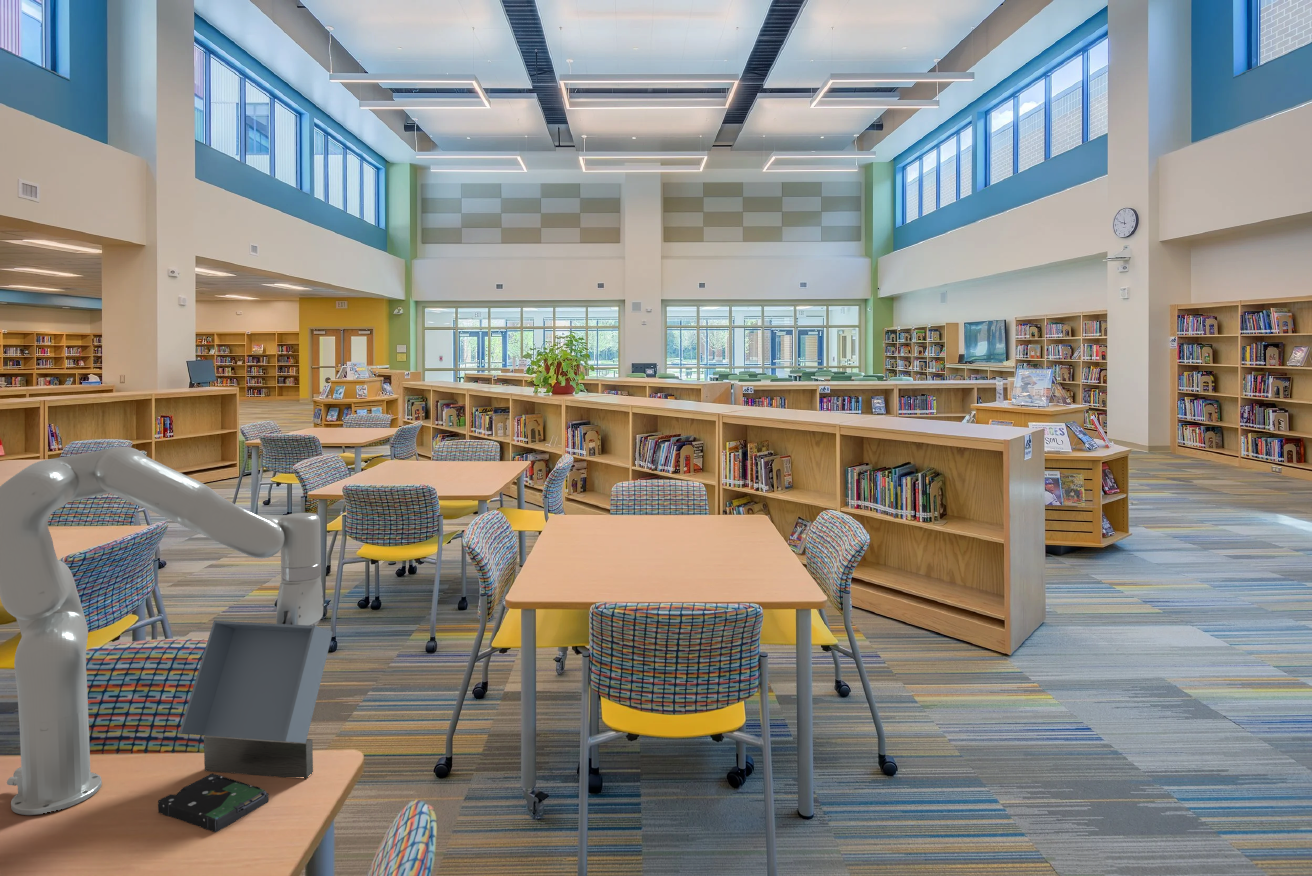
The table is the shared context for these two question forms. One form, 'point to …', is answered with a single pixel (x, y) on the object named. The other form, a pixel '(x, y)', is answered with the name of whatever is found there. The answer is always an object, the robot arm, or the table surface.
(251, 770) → the long flat gray bar
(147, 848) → the table surface
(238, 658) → the cover
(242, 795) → the disk drive
